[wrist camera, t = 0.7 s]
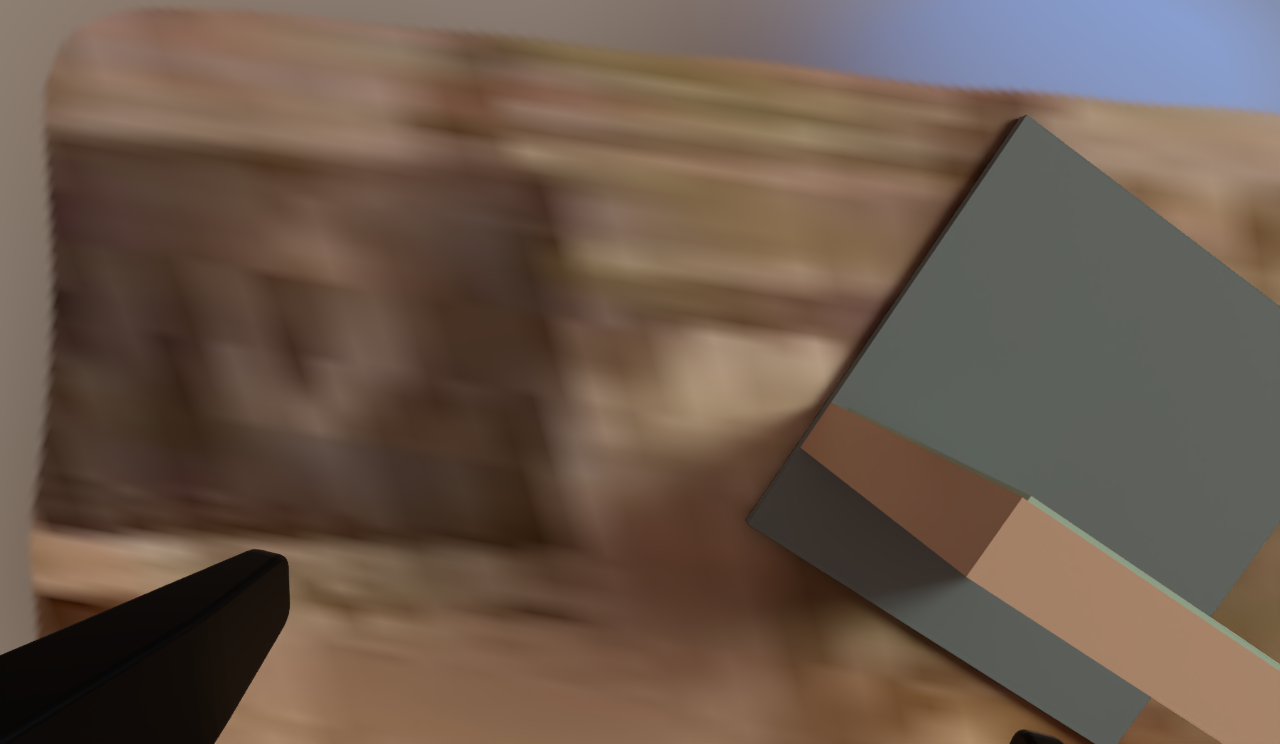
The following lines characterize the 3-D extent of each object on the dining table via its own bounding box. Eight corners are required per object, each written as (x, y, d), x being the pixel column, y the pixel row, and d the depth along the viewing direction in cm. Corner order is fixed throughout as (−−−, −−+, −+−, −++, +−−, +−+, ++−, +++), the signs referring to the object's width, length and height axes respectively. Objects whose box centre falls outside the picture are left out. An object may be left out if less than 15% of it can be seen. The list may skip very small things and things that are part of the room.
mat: (1102, 746, 28) (1110, 753, 27) (745, 520, 26) (747, 524, 25) (1369, 381, 26) (1381, 383, 26) (1019, 117, 25) (1026, 114, 24)
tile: (987, 570, 26) (1278, 780, 15) (800, 447, 25) (966, 577, 14) (1020, 523, 26) (1337, 701, 15) (833, 398, 25) (1027, 490, 14)
